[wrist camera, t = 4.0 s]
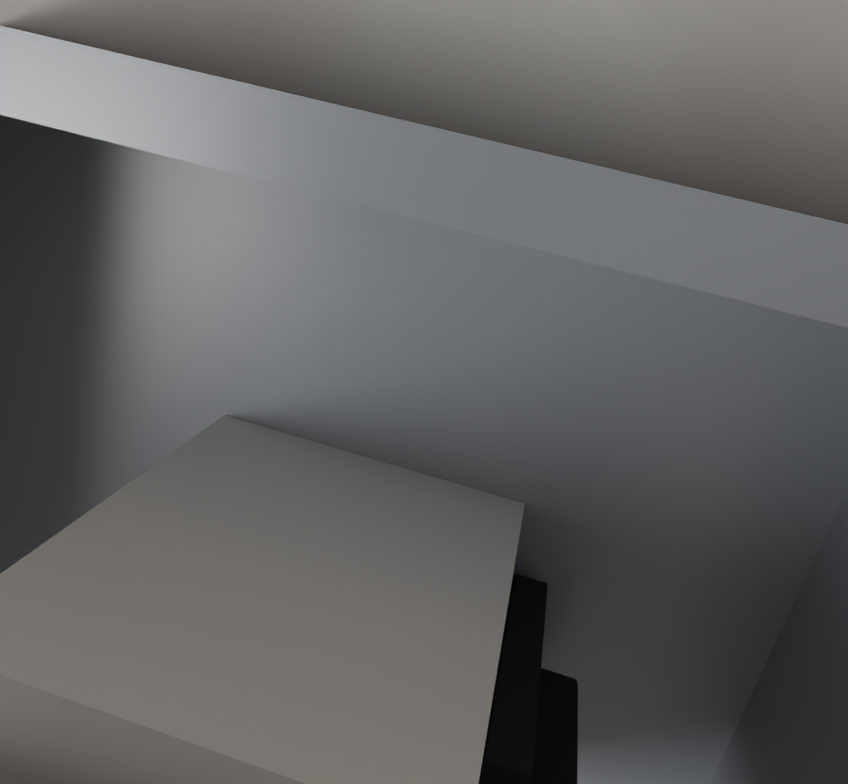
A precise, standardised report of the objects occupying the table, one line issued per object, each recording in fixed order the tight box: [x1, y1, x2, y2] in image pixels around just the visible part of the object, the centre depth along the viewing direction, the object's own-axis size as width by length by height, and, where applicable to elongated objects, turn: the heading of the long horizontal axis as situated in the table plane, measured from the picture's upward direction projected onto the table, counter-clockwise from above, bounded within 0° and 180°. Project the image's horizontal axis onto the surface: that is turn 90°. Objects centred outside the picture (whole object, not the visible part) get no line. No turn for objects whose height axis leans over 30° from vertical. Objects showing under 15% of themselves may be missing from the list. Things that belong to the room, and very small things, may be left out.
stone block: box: [0, 415, 525, 784], centre depth 10 cm, size 5×5×6 cm
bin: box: [0, 25, 848, 784], centre depth 11 cm, size 15×15×4 cm
